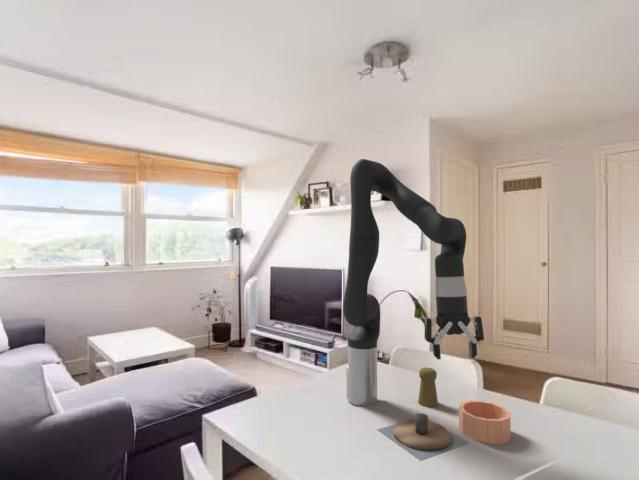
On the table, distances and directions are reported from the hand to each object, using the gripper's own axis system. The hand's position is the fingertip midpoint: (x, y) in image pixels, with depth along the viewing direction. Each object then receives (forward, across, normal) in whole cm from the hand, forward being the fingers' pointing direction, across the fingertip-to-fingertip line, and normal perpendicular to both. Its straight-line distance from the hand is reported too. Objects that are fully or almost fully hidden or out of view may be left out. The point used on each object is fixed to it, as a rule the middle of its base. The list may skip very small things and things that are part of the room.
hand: (455, 358), depth 94 cm
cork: (+19, +3, -20) cm, 28 cm away
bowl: (+20, -7, -4) cm, 22 cm away
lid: (+19, +10, 0) cm, 21 cm away
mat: (+20, +10, 0) cm, 22 cm away
